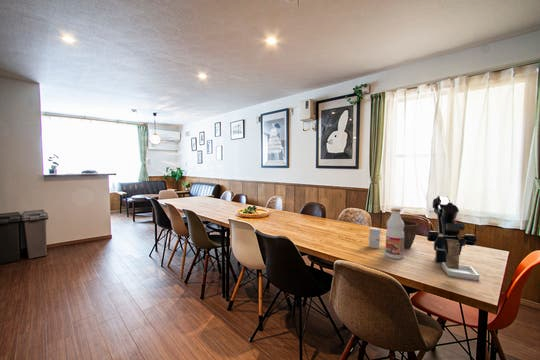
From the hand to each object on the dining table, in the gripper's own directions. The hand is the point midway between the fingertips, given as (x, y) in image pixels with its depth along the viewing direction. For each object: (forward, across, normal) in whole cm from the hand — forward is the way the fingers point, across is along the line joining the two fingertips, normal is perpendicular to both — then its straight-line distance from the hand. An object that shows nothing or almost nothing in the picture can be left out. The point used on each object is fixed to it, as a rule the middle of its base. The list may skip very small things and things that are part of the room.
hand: (453, 254), depth 115 cm
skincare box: (-17, -34, +36) cm, 52 cm away
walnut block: (+4, 0, +6) cm, 7 cm away
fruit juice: (-7, -23, +26) cm, 35 cm away
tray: (+1, +5, +16) cm, 17 cm away
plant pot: (-23, -16, +42) cm, 51 cm away
